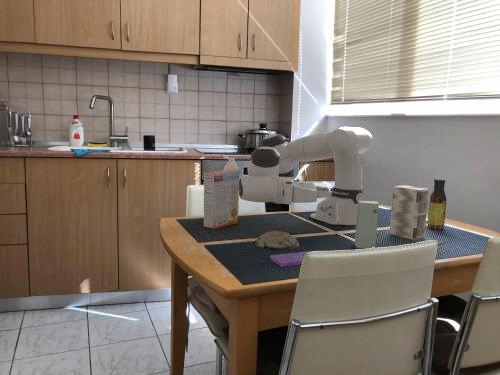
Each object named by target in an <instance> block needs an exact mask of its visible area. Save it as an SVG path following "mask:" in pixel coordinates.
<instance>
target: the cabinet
mask: <svg viewBox="0 0 500 375" xmlns="http://www.w3.org/2000/svg"><path fill="white" fill-rule="evenodd" d="M429 194H430V188H426V187H420V186H418V187H417V186H411V185H405V184H402V185H396V186H395V185H394V186H393V189H392V201H391V213H390V222H389V223H390V224H389V225H390V226H389V235H391V236H396V237H400V238H404V239H407V240H408V239H409V240H410V242H412V243H415V242H419V241H425V240H438V245H437V246H440V245H442V244H444V243H445V244H446V243H447V241H444V240H440V239H436V238H432V237H427V236H425V234H426V225H427V224H426V223H427V216H428V212H427V211H428V206H429V203H428V202H429Z"/></svg>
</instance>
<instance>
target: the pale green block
mask: <svg viewBox="0 0 500 375" xmlns="http://www.w3.org/2000/svg"><path fill="white" fill-rule="evenodd" d="M379 208H380V204H379V202H378V201H374V200H373V201H371V200H362V201H358V206H357V219H356V225H355V233H354V234H355V235H354V246H355V248H356V249H367V248H372V247H375V248H376V244H377V242H376V241H377V232H378V231H377V230H378V221H379V220H378V219H379Z"/></svg>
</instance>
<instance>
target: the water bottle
mask: <svg viewBox="0 0 500 375" xmlns="http://www.w3.org/2000/svg"><path fill="white" fill-rule="evenodd" d="M222 159H225V160H228V161H227V163H225V166H224V167H223V170H235V171H239V172H240V167H239V166H238V164H237V162H236V160H235V157H230V156H228V155H223V156H222Z"/></svg>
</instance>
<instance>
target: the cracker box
mask: <svg viewBox="0 0 500 375" xmlns="http://www.w3.org/2000/svg"><path fill="white" fill-rule="evenodd" d="M239 180H240V170H239V171H235V170H224V169H222V170H214V171H212V170H211V171H206V172H205V171H204V172H203V227H204V228H207V229H212V230H216V229H221V228H225V227H229V226H233V225H237V224H238V223H239V203H240V202H239V200H240V196H239Z"/></svg>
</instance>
